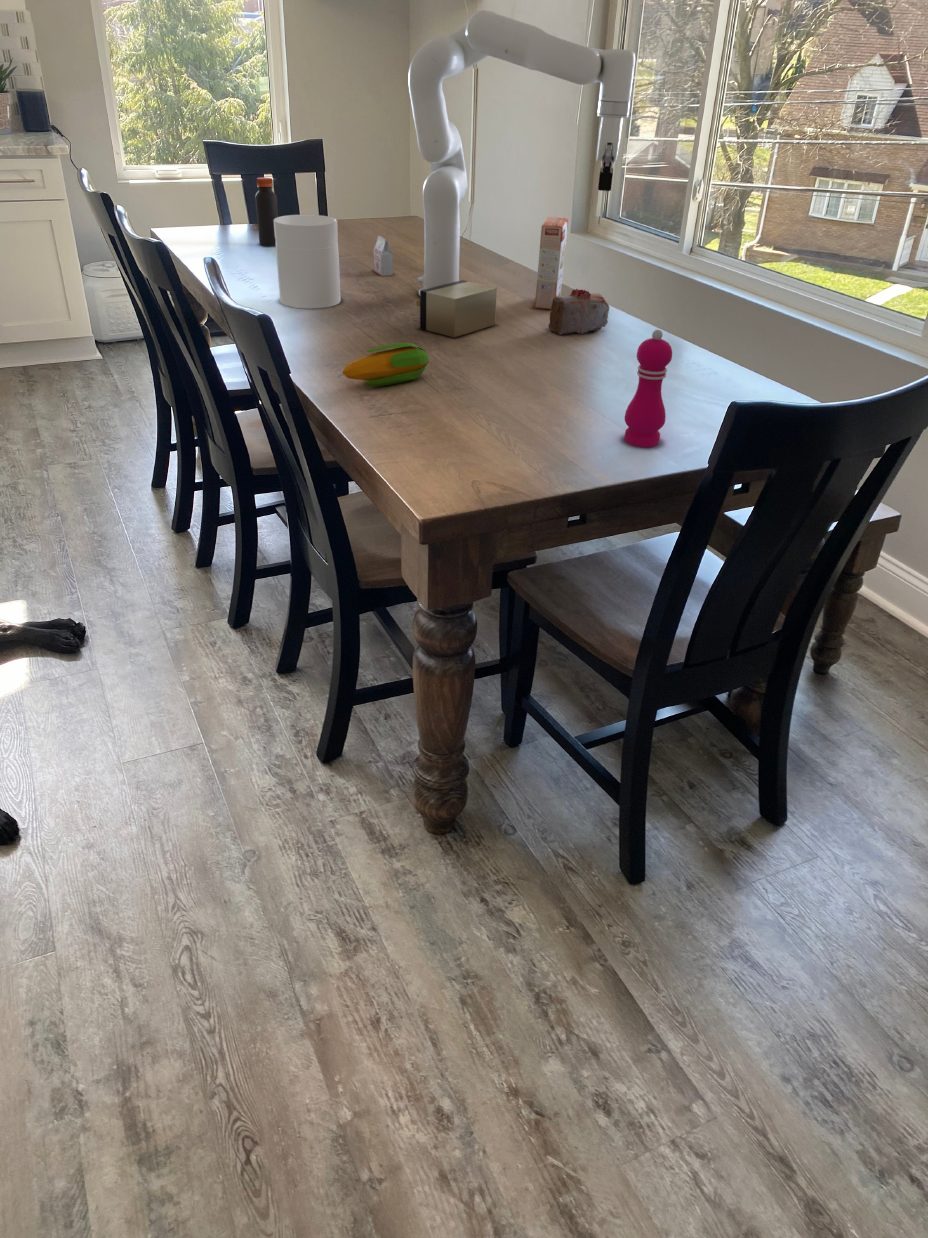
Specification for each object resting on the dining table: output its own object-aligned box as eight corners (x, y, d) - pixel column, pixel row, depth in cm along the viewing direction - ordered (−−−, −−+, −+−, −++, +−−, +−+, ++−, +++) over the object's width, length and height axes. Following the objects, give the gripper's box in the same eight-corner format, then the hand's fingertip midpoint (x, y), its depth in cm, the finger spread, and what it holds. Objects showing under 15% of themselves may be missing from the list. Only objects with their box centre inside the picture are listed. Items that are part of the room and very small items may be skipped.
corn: (436, 341, 183) (351, 356, 173) (437, 379, 187) (353, 395, 177) (417, 335, 188) (333, 348, 178) (418, 371, 192) (336, 386, 182)
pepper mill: (632, 430, 166) (647, 321, 155) (668, 439, 163) (686, 329, 152) (614, 442, 161) (629, 330, 150) (651, 452, 158) (669, 338, 147)
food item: (590, 323, 227) (595, 283, 222) (609, 331, 222) (614, 290, 216) (545, 328, 222) (549, 287, 216) (563, 337, 216) (566, 295, 211)
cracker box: (556, 310, 237) (563, 226, 226) (533, 308, 238) (540, 224, 226) (562, 298, 249) (569, 217, 237) (540, 296, 249) (546, 215, 238)
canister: (352, 301, 238) (350, 220, 227) (305, 311, 228) (300, 227, 217) (315, 290, 247) (310, 212, 236) (267, 299, 237) (260, 218, 226)
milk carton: (385, 269, 271) (384, 234, 265) (392, 274, 266) (392, 239, 260) (373, 270, 270) (372, 235, 264) (381, 275, 265) (380, 239, 259)
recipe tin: (403, 324, 221) (403, 286, 216) (445, 312, 231) (446, 276, 226) (454, 337, 212) (455, 298, 207) (495, 324, 223) (496, 287, 218)
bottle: (278, 246, 295) (272, 180, 284) (257, 246, 294) (251, 179, 284) (282, 242, 300) (276, 177, 289) (261, 242, 300) (256, 176, 289)
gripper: (598, 106, 222) (590, 182, 232) (597, 111, 208) (588, 191, 218) (628, 108, 222) (619, 183, 231) (629, 112, 207) (619, 193, 217)
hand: (604, 187), depth 224 cm, fingers open, 9 cm apart
